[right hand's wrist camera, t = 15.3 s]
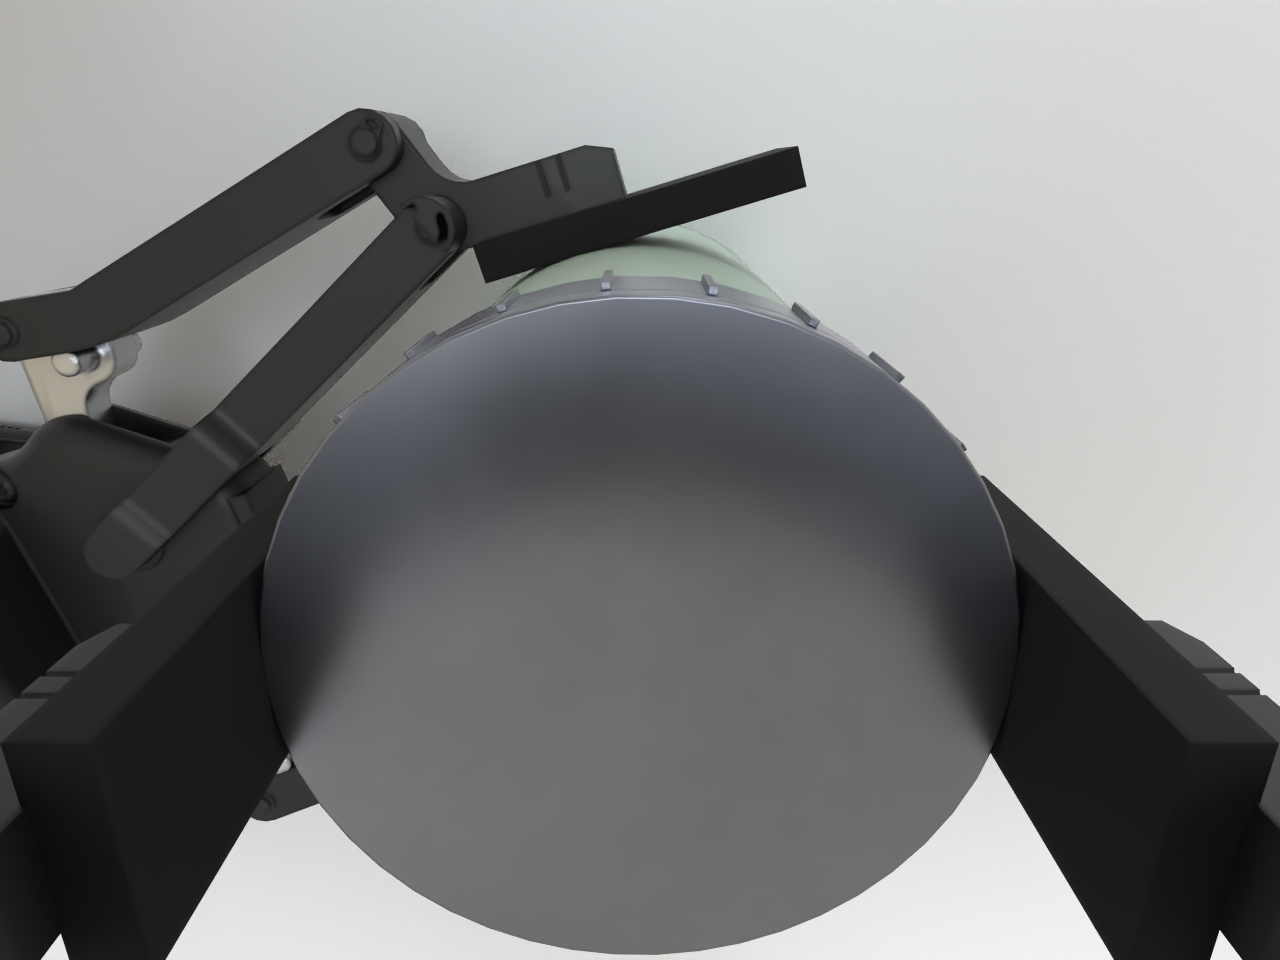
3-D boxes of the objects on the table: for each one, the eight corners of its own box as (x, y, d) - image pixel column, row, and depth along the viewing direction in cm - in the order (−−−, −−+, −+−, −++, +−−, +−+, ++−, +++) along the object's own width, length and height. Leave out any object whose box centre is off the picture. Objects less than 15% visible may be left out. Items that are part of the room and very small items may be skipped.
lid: (1103, 642, 12) (1172, 713, 11) (609, 957, 14) (604, 1055, 13) (687, 96, 10) (695, 82, 8) (162, 579, 12) (90, 641, 10)
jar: (668, 555, 28) (700, 999, 13) (439, 401, 26) (175, 714, 11) (845, 341, 25) (1133, 589, 11) (606, 154, 24) (549, 136, 9)
